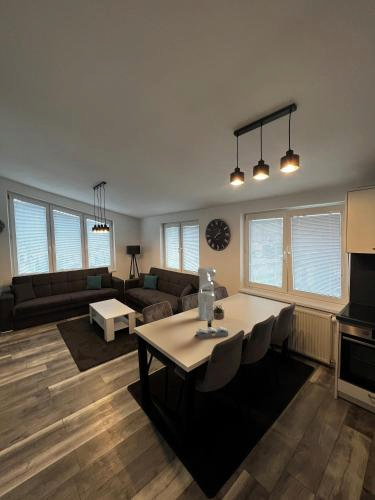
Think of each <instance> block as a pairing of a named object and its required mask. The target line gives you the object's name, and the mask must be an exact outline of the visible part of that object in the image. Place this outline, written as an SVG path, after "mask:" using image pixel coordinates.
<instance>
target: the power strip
mask: <svg viewBox="0 0 375 500" xmlns="http://www.w3.org/2000/svg"><path fill="white" fill-rule="evenodd" d="M215 329H216V330H217V332H214V331H210V330H209V329H206V330H207V331H208V333H204V332H200V331H199V330H198V331H197V330H196V332H195V334H194V337H196V338H197V339H198V340H203V339H213V338H221V337H228V336H229V331H228V330H227V331H224V330H220V329H218V328H215Z"/></svg>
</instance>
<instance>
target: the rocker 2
mask: <svg viewBox="0 0 375 500" xmlns="http://www.w3.org/2000/svg"><path fill="white" fill-rule="evenodd" d="M216 329H217V328H213V327H209V328H208V327H207V330H210V331H214V332H217V330H216Z"/></svg>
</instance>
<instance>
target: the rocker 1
mask: <svg viewBox="0 0 375 500" xmlns="http://www.w3.org/2000/svg"><path fill="white" fill-rule="evenodd" d="M207 330H208V329H205V328H204V329H203V328H201V327H198V331H200V332H204V333H208V331H207Z"/></svg>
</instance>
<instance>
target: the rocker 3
mask: <svg viewBox="0 0 375 500" xmlns="http://www.w3.org/2000/svg"><path fill="white" fill-rule="evenodd" d="M216 329H220V330H224V331H228V329H227V328H225V327H223V326H217V328H216Z"/></svg>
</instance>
